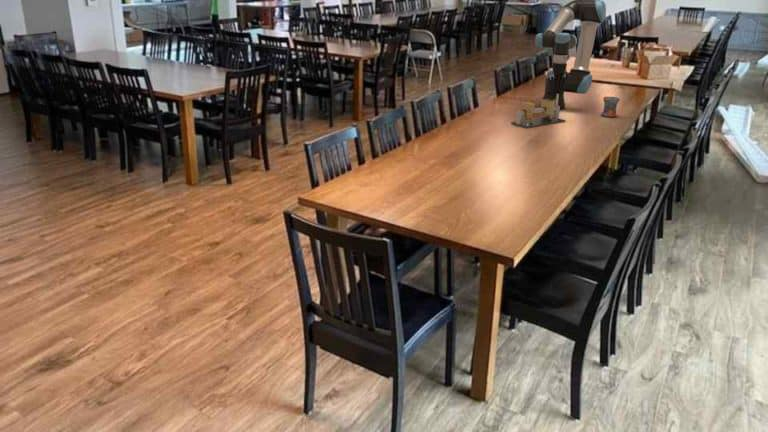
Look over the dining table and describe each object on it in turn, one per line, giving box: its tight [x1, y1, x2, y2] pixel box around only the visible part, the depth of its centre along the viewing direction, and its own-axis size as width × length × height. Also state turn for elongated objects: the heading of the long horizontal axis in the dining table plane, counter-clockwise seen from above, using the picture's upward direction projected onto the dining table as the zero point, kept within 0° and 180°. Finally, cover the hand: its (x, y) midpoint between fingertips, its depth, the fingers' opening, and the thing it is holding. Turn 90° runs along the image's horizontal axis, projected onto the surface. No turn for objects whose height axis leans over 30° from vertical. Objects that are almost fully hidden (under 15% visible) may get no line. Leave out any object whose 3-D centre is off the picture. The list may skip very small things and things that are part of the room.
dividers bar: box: [515, 101, 560, 125], centre depth 339 cm, size 7×30×11 cm, turn 122°
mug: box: [601, 96, 621, 118], centre depth 358 cm, size 12×9×11 cm
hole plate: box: [510, 116, 567, 129], centre depth 341 cm, size 12×30×2 cm, turn 122°
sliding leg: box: [539, 99, 555, 120], centre depth 342 cm, size 7×4×10 cm, turn 32°
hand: (554, 105), depth 342 cm, fingers closed
